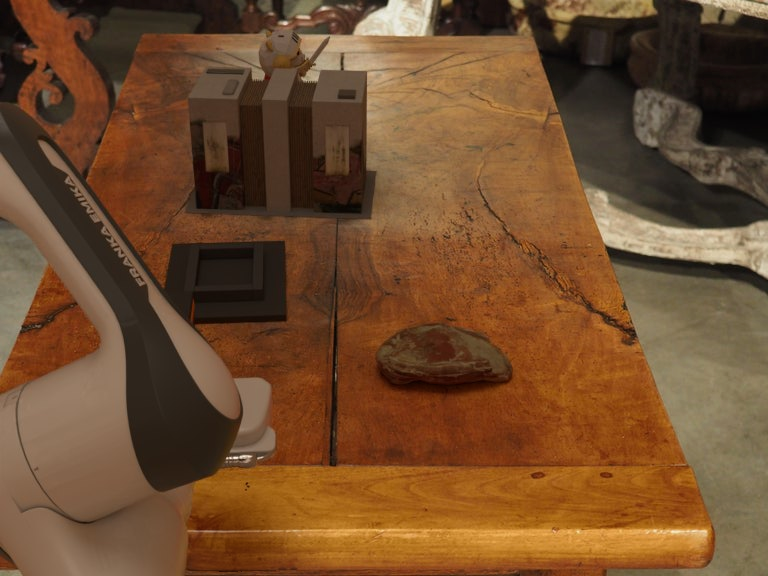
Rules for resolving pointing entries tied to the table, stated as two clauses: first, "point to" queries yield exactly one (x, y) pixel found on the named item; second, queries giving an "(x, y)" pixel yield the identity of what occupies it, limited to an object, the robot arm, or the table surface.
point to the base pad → (231, 280)
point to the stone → (441, 356)
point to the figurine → (286, 53)
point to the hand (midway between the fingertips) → (153, 365)
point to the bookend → (280, 144)
